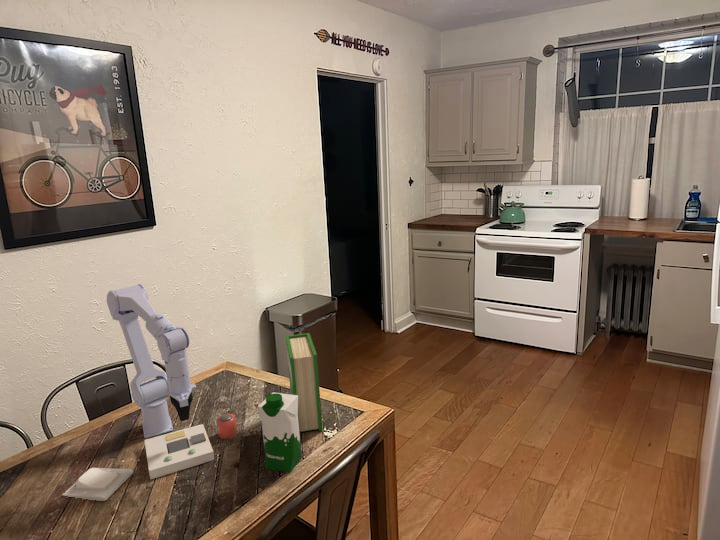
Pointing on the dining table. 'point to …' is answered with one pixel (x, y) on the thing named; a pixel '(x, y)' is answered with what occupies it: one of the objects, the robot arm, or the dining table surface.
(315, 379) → the hardback book
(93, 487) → the light switch
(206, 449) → the panel
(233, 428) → the cap
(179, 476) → the dining table surface
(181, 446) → the button
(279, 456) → the milk carton
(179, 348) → the robot arm
